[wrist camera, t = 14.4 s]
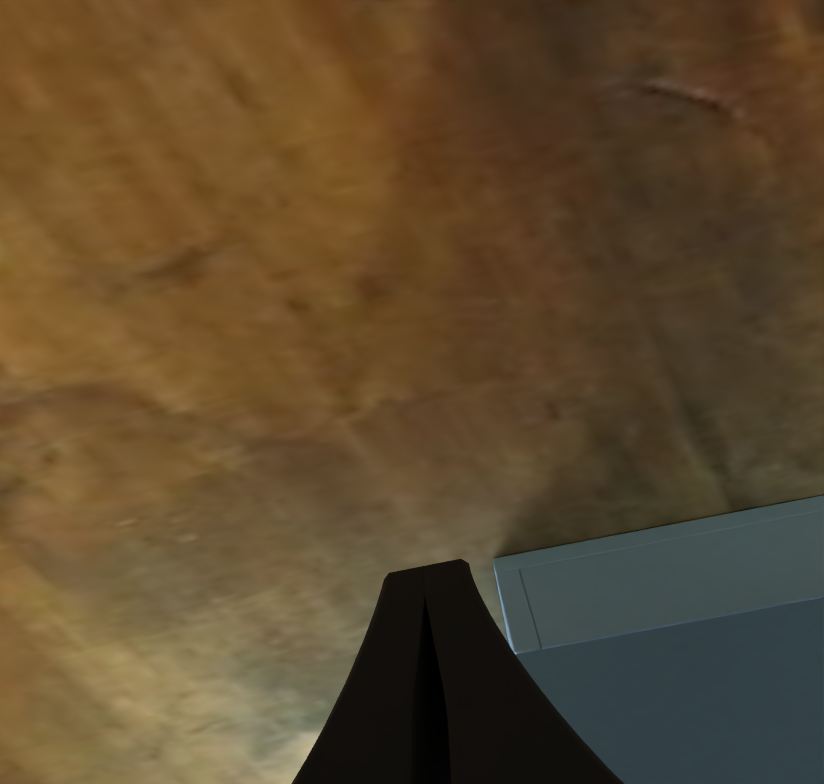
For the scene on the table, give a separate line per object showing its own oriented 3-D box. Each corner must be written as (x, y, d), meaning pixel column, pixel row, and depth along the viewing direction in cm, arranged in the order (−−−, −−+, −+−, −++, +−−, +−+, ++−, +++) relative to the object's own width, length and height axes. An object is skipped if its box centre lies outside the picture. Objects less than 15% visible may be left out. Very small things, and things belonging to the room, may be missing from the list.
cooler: (845, 710, 26) (925, 816, 22) (532, 764, 27) (557, 877, 23) (862, 487, 22) (966, 569, 18) (491, 558, 23) (514, 652, 19)
